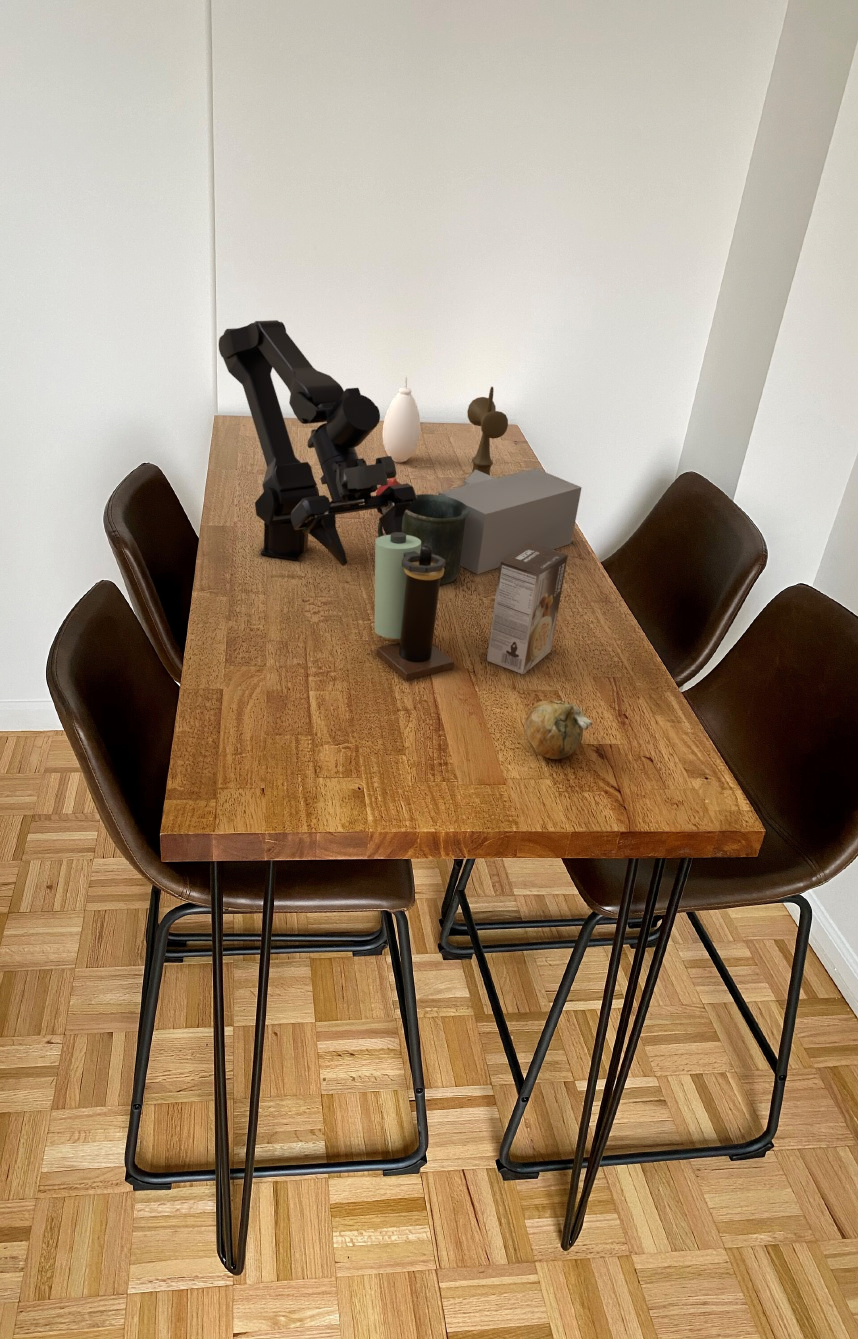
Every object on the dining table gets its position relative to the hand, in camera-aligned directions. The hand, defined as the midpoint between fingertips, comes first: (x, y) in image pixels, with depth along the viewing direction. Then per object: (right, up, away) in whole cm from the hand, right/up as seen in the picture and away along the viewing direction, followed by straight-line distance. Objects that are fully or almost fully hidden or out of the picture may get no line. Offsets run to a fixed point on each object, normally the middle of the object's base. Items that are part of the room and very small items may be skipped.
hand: (372, 559), depth 153 cm
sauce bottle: (+2, +28, +69) cm, 74 cm away
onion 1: (+1, +12, +42) cm, 44 cm away
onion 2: (+24, -27, -20) cm, 41 cm away
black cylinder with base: (+6, -15, -4) cm, 17 cm away
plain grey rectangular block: (+17, +8, +39) cm, 43 cm away
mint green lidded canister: (+5, -12, -3) cm, 13 cm away
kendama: (+19, +22, +62) cm, 68 cm away
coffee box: (+21, -14, +1) cm, 26 cm away
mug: (+6, 0, +22) cm, 23 cm away
